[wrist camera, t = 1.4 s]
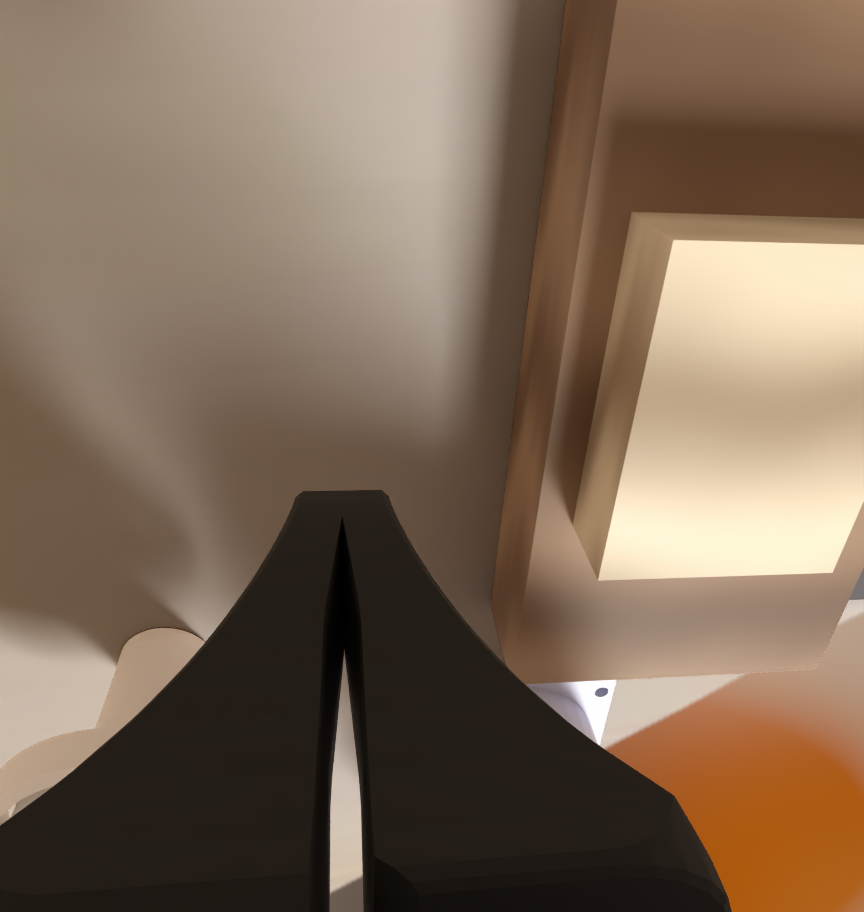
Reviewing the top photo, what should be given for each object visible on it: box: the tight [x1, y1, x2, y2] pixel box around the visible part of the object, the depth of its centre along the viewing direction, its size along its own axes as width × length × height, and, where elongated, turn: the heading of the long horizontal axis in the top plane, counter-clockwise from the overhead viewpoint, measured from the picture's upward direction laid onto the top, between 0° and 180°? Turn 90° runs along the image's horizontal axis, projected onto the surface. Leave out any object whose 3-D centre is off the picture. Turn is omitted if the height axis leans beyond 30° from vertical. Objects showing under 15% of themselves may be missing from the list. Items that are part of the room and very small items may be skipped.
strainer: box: [0, 628, 205, 825], centre depth 18 cm, size 7×7×15 cm
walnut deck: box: [490, 0, 864, 684], centre depth 19 cm, size 18×10×4 cm, turn 177°
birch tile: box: [573, 212, 864, 581], centre depth 16 cm, size 8×6×2 cm
